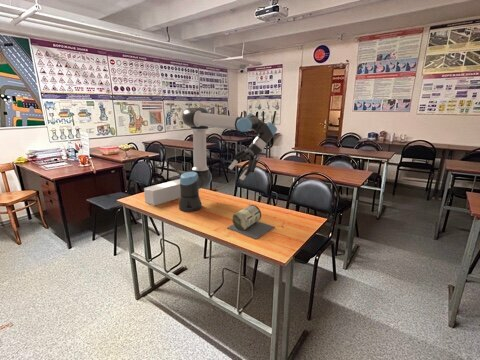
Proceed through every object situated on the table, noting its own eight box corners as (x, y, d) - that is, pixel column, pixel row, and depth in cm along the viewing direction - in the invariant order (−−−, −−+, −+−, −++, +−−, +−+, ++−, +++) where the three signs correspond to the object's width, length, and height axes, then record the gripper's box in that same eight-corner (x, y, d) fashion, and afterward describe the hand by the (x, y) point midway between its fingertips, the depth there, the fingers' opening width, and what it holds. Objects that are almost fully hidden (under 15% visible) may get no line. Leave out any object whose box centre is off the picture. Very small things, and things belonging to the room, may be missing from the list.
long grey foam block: (153, 206, 180) (152, 191, 177) (145, 202, 187) (143, 188, 184) (190, 194, 204) (189, 181, 201) (181, 191, 211) (180, 178, 208)
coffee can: (229, 221, 147) (243, 213, 158) (242, 234, 144) (256, 225, 155) (237, 208, 142) (251, 201, 153) (250, 221, 138) (264, 212, 150)
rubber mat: (227, 228, 147) (227, 227, 147) (247, 218, 161) (247, 217, 161) (256, 239, 135) (256, 238, 135) (275, 227, 149) (275, 226, 148)
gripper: (272, 157, 151) (250, 186, 153) (249, 141, 169) (229, 167, 171) (265, 151, 146) (242, 181, 148) (242, 135, 164) (221, 162, 166)
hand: (235, 173), depth 159 cm, fingers open, 13 cm apart
